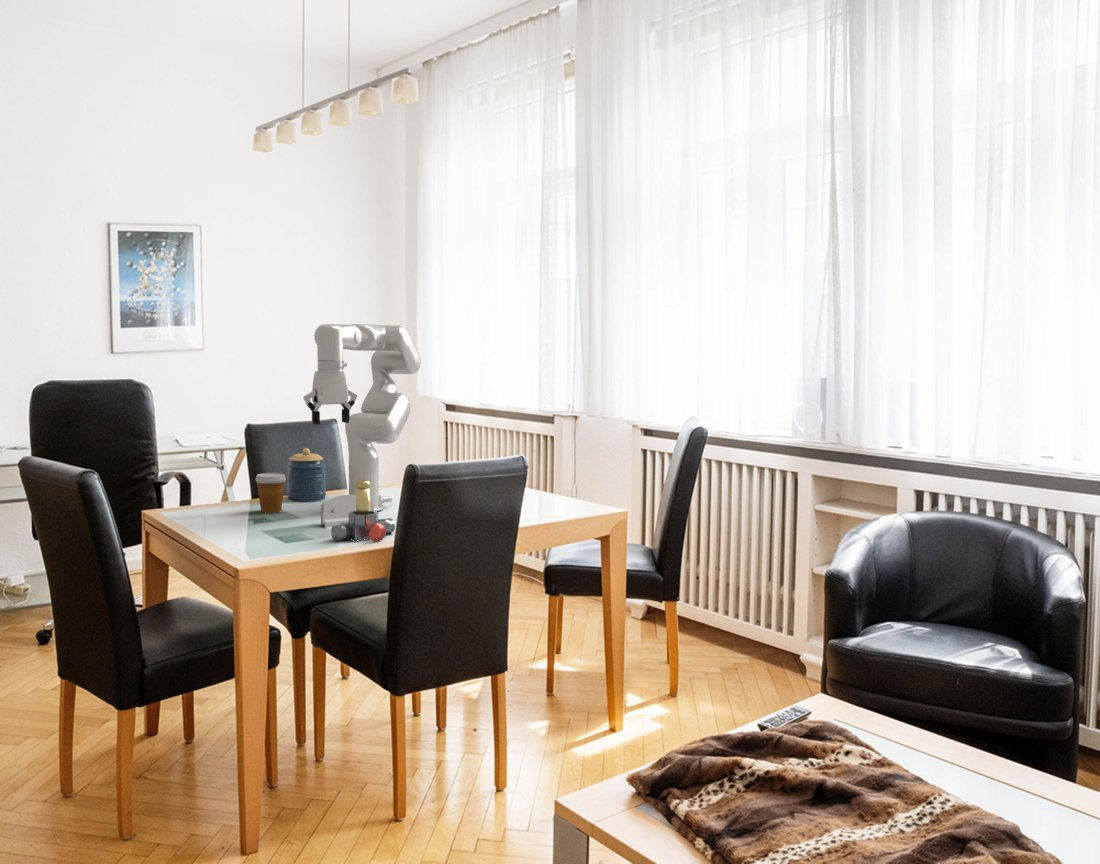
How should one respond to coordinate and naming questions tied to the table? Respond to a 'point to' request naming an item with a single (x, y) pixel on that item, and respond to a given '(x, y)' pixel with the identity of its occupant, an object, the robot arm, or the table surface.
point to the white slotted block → (338, 509)
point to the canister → (306, 477)
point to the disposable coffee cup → (270, 491)
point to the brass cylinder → (362, 497)
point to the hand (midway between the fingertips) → (331, 423)
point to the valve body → (363, 527)
